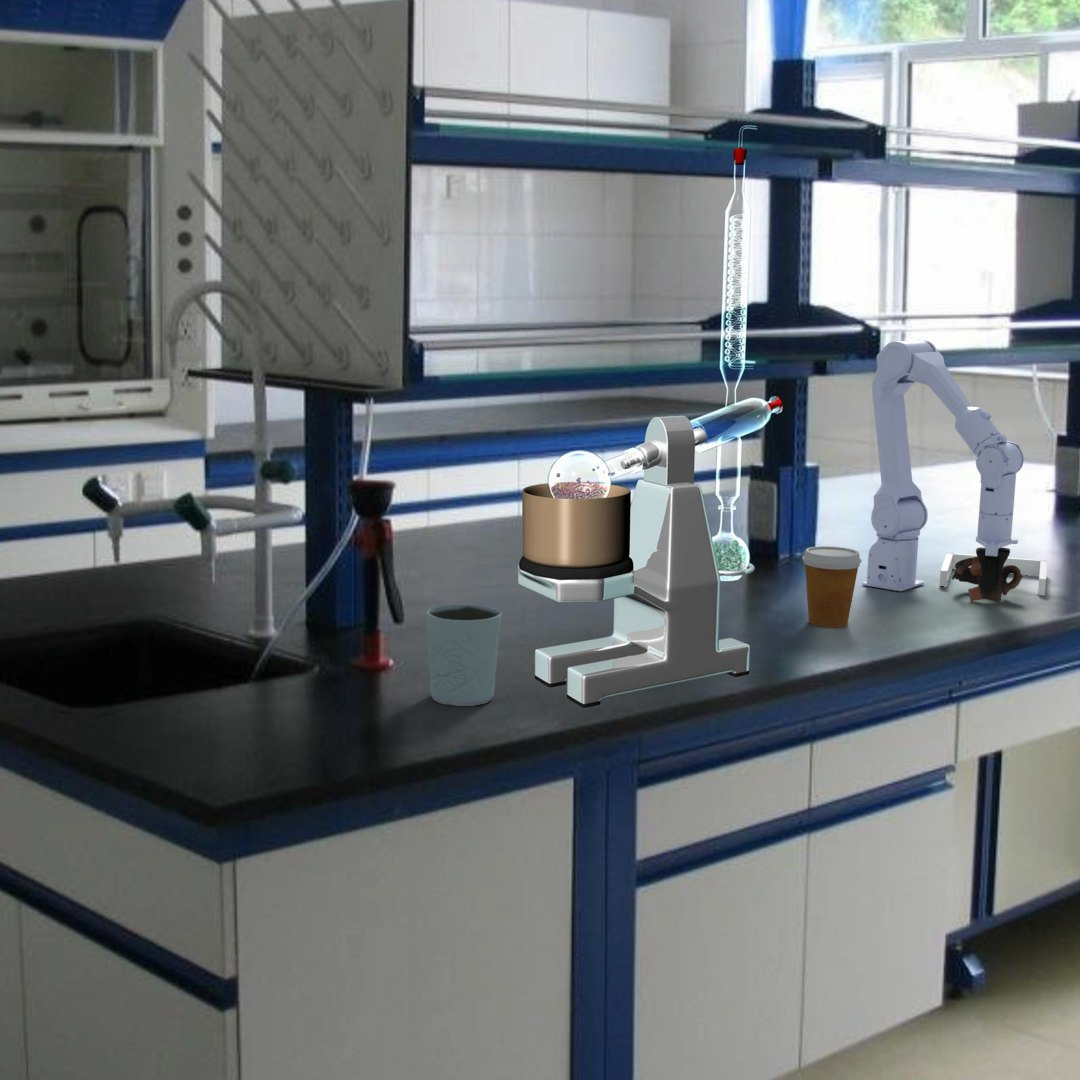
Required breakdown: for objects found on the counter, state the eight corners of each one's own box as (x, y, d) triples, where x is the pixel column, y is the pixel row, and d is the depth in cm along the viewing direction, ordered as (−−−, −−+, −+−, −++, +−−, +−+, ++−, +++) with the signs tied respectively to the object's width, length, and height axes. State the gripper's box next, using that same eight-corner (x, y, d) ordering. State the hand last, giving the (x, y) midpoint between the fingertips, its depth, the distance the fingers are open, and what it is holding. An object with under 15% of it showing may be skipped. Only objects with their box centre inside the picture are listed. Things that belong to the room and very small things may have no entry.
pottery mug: (952, 603, 311) (946, 558, 314) (961, 616, 319) (955, 573, 322) (1023, 592, 307) (1015, 546, 310) (1029, 606, 315) (1022, 562, 318)
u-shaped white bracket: (1044, 595, 317) (1046, 579, 317) (939, 586, 322) (940, 570, 322) (1045, 575, 334) (1047, 560, 334) (946, 567, 339) (947, 552, 339)
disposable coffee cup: (813, 631, 285) (818, 557, 283) (789, 617, 294) (793, 546, 292) (867, 628, 288) (872, 556, 286) (841, 615, 297) (846, 545, 295)
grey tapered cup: (426, 708, 236) (428, 620, 234) (423, 687, 246) (424, 603, 244) (502, 708, 237) (505, 620, 235) (496, 687, 247) (498, 603, 245)
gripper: (1018, 521, 299) (1012, 600, 301) (1021, 507, 312) (1015, 583, 315) (975, 517, 301) (969, 596, 303) (980, 504, 314) (974, 580, 317)
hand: (990, 589), depth 309 cm, fingers closed
